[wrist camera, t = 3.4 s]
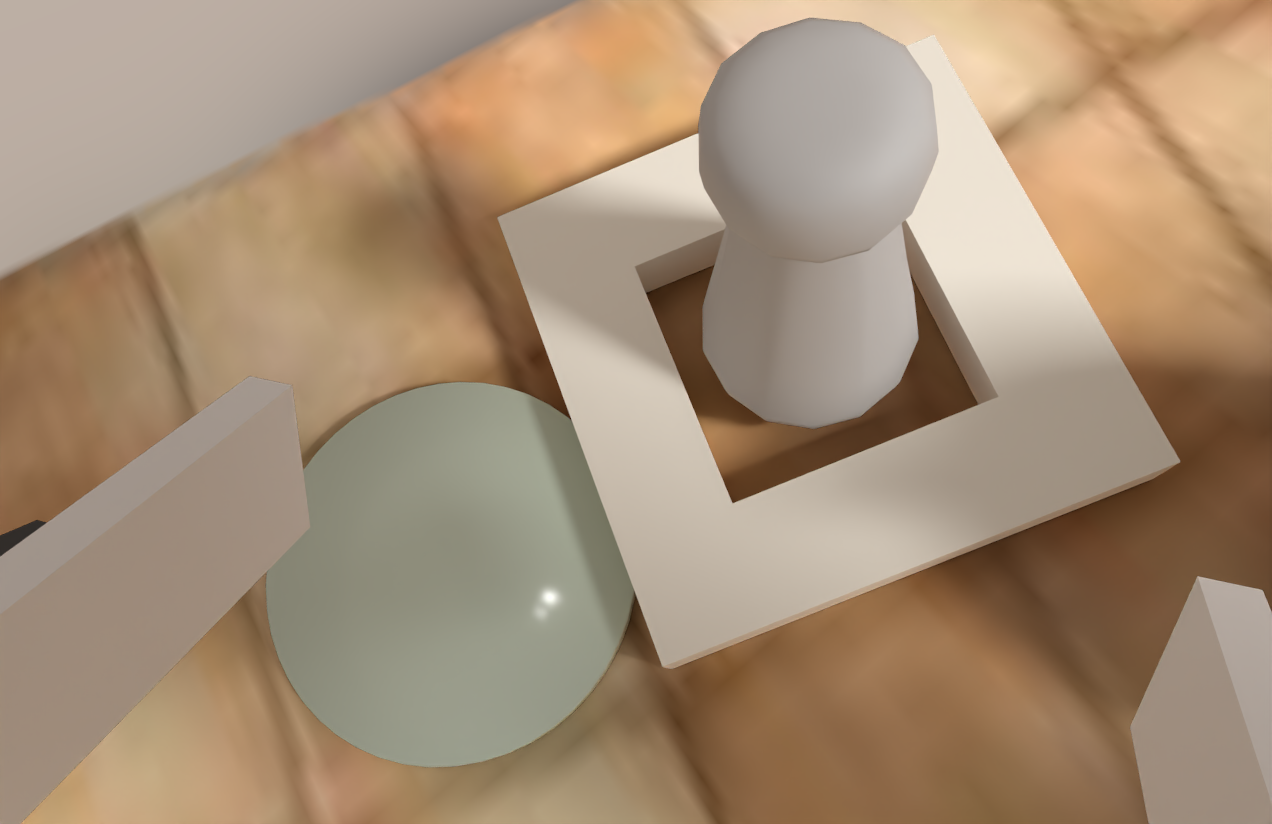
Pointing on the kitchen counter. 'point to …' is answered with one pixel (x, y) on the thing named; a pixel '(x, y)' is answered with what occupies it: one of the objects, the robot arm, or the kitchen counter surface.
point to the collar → (865, 482)
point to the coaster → (449, 578)
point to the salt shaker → (814, 218)
